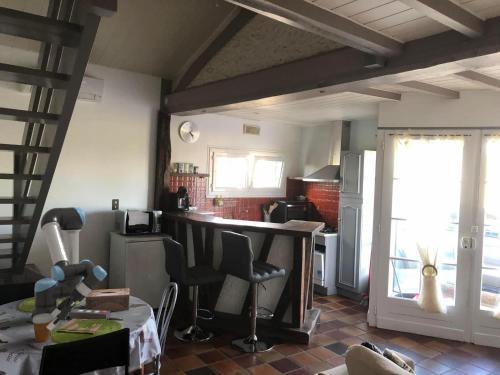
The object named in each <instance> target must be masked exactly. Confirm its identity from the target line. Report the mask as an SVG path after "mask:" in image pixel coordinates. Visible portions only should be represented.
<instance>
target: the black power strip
mask: <svg viewBox="0 0 500 375" xmlns="http://www.w3.org/2000/svg"><path fill="white" fill-rule="evenodd" d="M111 313H112V311H105V310H86V309H85V308H83V309H81V308H74V309H72V310H70V312H69V319H70V320H72V319H108V320H113V321H114V320H115V321H123V320H124V318H122V317H111Z"/></svg>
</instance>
